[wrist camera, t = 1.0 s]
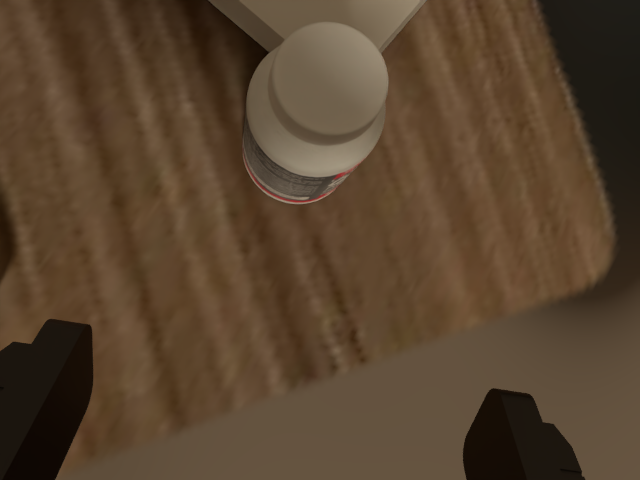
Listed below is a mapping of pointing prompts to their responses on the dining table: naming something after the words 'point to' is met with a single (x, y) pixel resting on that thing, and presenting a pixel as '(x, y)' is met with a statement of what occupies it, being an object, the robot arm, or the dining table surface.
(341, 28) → the pill bottle
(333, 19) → the dock
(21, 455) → the robot arm
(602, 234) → the dining table surface
